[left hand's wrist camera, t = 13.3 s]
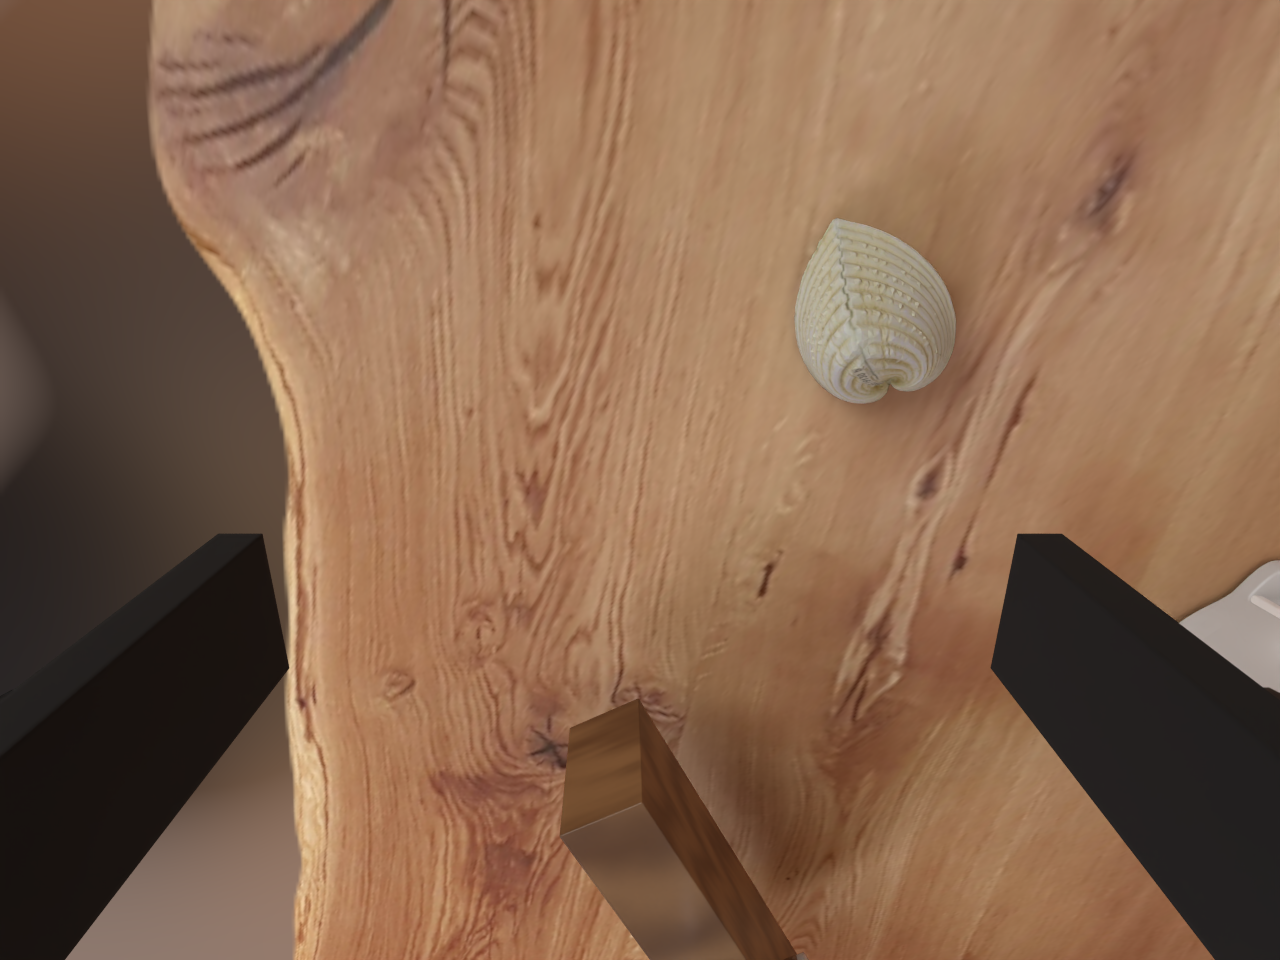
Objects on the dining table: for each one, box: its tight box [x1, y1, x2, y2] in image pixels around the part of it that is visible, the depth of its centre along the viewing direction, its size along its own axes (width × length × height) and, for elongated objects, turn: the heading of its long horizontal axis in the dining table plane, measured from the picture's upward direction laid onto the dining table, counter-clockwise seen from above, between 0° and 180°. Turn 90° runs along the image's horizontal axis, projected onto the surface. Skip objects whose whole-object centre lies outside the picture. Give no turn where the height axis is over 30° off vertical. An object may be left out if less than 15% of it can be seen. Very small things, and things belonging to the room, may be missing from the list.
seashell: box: [795, 218, 956, 404], centre depth 38 cm, size 8×8×8 cm
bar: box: [560, 699, 797, 960], centre depth 44 cm, size 26×5×8 cm, turn 27°
